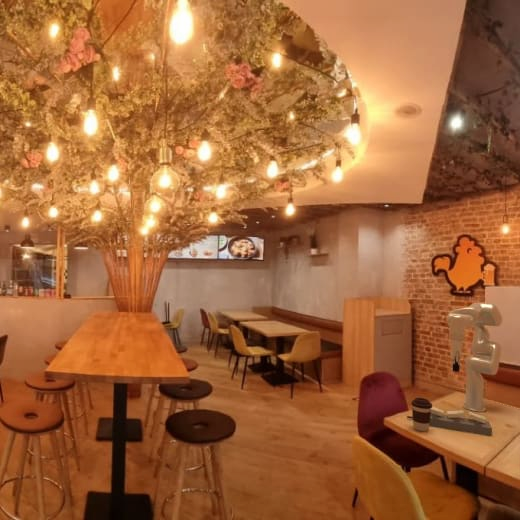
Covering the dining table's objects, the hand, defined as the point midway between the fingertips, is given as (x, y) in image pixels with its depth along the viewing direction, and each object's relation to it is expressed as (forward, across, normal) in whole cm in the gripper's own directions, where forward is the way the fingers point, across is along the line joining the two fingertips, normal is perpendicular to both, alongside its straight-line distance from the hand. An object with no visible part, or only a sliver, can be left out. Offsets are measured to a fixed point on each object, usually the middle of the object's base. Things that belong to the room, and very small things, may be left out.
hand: (455, 371), depth 226 cm
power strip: (+27, +10, -4) cm, 29 cm away
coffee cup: (+27, +22, -17) cm, 39 cm away
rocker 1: (+21, +8, -10) cm, 25 cm away
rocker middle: (+21, +8, 0) cm, 22 cm away
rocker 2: (+21, +8, +10) cm, 25 cm away
